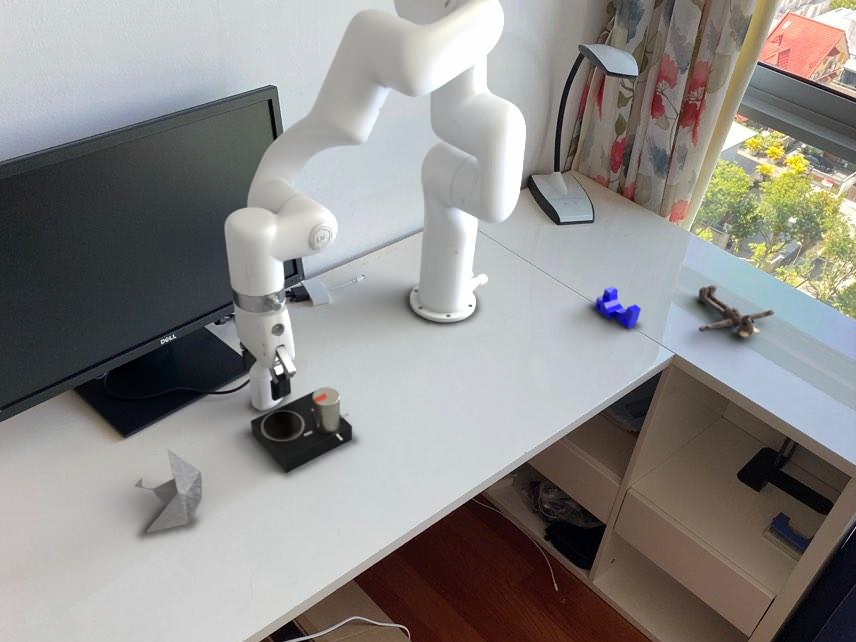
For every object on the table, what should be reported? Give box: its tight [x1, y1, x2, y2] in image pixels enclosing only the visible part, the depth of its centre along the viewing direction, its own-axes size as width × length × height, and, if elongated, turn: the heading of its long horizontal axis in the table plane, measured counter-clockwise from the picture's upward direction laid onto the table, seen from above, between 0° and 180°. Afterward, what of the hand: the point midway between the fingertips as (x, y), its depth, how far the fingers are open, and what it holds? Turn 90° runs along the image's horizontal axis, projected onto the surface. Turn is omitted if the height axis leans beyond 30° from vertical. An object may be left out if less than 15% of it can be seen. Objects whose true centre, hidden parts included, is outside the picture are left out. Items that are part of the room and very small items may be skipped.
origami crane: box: [134, 448, 203, 534], centre depth 113 cm, size 12×6×9 cm
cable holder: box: [594, 286, 642, 329], centre depth 154 cm, size 8×4×4 cm, turn 32°
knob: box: [313, 386, 341, 434], centre depth 122 cm, size 4×4×6 cm
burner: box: [261, 411, 305, 442], centre depth 123 cm, size 7×7×1 cm
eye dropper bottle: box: [248, 356, 284, 412], centre depth 127 cm, size 4×6×12 cm
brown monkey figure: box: [698, 284, 775, 338], centre depth 156 cm, size 18×4×14 cm
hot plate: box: [250, 390, 353, 474], centre depth 125 cm, size 13×12×3 cm
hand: (267, 381), depth 129 cm, fingers open, 7 cm apart
